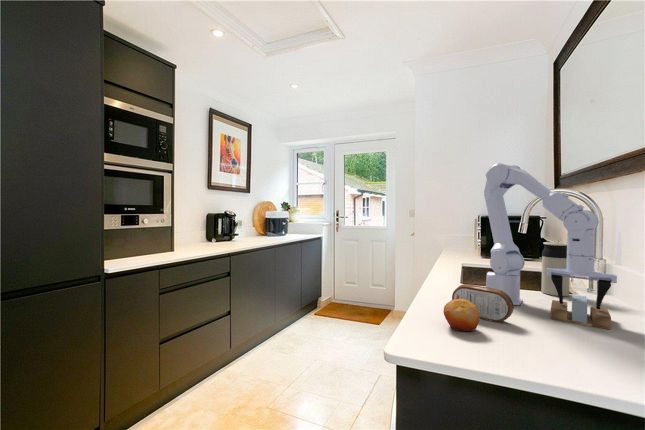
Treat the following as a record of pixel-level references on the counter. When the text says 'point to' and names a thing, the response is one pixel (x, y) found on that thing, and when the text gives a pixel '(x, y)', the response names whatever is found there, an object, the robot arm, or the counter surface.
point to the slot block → (594, 319)
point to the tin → (486, 301)
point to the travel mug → (556, 259)
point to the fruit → (461, 315)
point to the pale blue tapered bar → (579, 308)
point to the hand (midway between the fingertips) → (579, 305)
